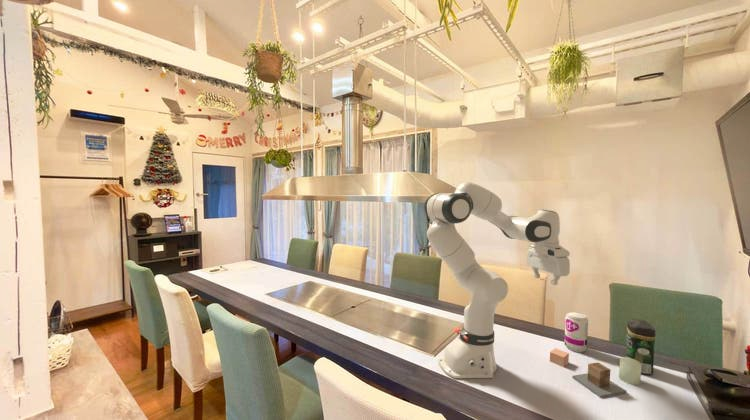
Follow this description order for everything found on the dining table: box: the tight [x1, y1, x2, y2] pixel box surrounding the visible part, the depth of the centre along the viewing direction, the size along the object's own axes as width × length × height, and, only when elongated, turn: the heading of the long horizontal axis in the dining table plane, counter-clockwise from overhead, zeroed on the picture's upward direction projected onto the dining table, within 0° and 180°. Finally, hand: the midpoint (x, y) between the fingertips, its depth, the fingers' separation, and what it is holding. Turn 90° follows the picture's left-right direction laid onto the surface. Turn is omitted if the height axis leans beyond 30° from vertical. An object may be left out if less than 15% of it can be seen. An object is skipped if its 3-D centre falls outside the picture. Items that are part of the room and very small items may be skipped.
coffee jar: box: [625, 318, 656, 375], centre depth 117 cm, size 10×8×19 cm
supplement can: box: [563, 311, 589, 353], centre depth 133 cm, size 8×8×15 cm
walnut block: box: [587, 362, 611, 388], centre depth 108 cm, size 4×4×6 cm
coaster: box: [572, 372, 627, 398], centre depth 108 cm, size 11×11×1 cm
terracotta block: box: [549, 348, 570, 368], centre depth 122 cm, size 5×5×4 cm
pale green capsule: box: [618, 356, 642, 386], centre depth 111 cm, size 6×6×7 cm
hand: (545, 281), depth 127 cm, fingers open, 8 cm apart
